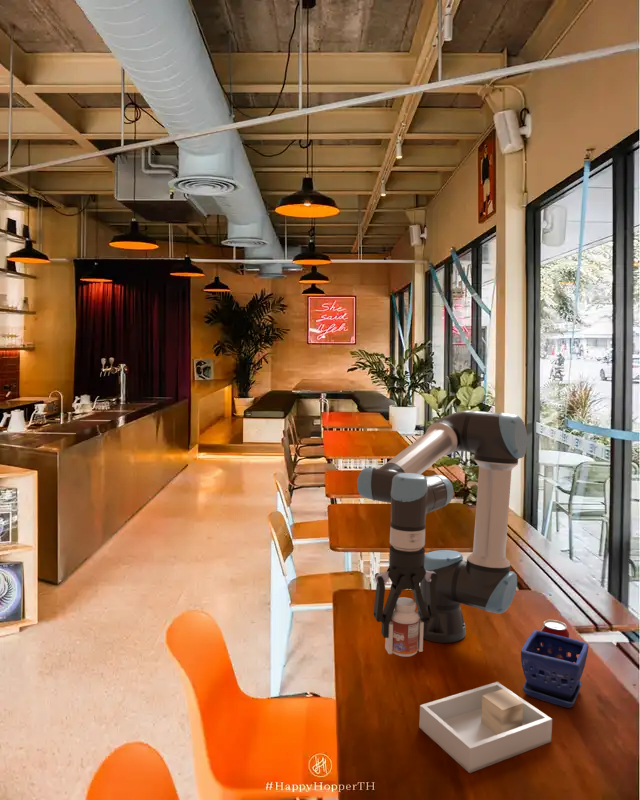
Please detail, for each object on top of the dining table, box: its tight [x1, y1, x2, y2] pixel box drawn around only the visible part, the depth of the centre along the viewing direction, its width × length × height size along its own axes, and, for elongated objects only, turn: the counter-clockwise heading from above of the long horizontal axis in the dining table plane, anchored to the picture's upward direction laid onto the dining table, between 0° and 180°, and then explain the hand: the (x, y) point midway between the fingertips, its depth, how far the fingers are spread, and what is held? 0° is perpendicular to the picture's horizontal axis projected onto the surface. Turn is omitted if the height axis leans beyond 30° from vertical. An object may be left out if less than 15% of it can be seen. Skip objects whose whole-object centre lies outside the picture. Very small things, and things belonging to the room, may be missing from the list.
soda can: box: [540, 619, 570, 660], centre depth 157 cm, size 7×7×12 cm
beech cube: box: [481, 689, 523, 735], centre depth 132 cm, size 6×6×6 cm
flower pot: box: [520, 629, 589, 709], centre depth 146 cm, size 13×13×12 cm
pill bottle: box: [390, 596, 419, 657], centre depth 133 cm, size 6×6×11 cm
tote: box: [418, 681, 553, 774], centre depth 130 cm, size 16×22×5 cm
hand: (403, 649), depth 134 cm, fingers closed on pill bottle, 6 cm apart
